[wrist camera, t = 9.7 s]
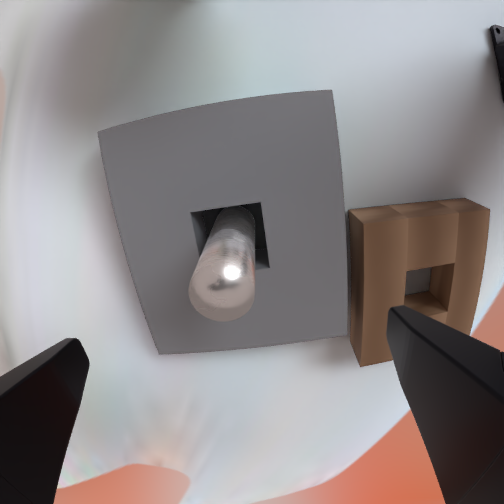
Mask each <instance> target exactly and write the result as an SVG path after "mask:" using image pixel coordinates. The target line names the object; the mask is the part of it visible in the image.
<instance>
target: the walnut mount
mask: <svg viewBox="0 0 504 504" xmlns="http://www.w3.org/2000/svg"><path fill="white" fill-rule="evenodd" d="M348 211H349V230H350V259H351V329H350V342H351V344H352V347H353V350H354V352H355V355H356V357H357V360H358V363H359V365H360V367H363V366H368V365H373V364H378V363H382V362H387V361H391V360H393V358H392V354H391V351H390V348H389V345H388V342H387V337H386V330H387V319H388V311H389V309H390V308H391V307H394V306H400V305H405V306H407V307H409V308H411V309H413V310H416V311H418V312H420V313H422V314H424V315H426V316H428V317H431V318H433V319H435V320H437V321H439V322H441V323H443V324H446V325H448V326H450V327H452V328H454V329H456V330H458V331H460V332H463V333H465V334H467V335H470V331H471V328H472V324H473V319H474V315H475V311H476V306H477V302H478V297H479V292H480V286H481V281H482V275H483V269H484V262H485V255H486V248H487V239H488V230H489V218H490V209H488V208H486V207H484V206H482V205H479V204H477V203H475V202H473V201H471V200H468V199H466V198H460V199H449V200H438V201H427V202H416V203H406V204H396V205H387V206H377V207H368V208H359V209H350V210H348ZM429 267H432V269H431V279H430V288H429V291H426V292H421V293H416V294H411V295H406V296H405V285H406V271H411V270H417V269H423V268H429Z"/></svg>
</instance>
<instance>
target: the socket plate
mask: <svg viewBox="0 0 504 504" xmlns="http://www.w3.org/2000/svg"><path fill="white" fill-rule="evenodd" d="M98 137H99V143H100V148H101V154H102V159H103V164H104V169H105V174H106V179H107V183H108V188H109V192H110V197H111V201H112V205H113V209H114V213H115V217H116V221H117V225H118V229H119V233H120V237H121V240H122V244H123V247H124V251H125V255H126V258H127V261H128V265H129V268H130V272H131V275H132V278H133V281H134V284H135V288H136V291H137V294H138V297H139V300H140V303H141V306H142V309H143V312H144V315H145V318H146V320H147V323H148V326H149V329H150V332H151V334H152V337H153V340H154V342H155V345H156V348H157V350H158V353H159V354H181V353H198V352H212V351H224V350H236V349H246V348H256V347H265V346H274V345H282V344H290V343H298V342H305V341H312V340H319V339H325V338H332V337H338V336H344V335H347V317H348V288H347V246H346V224H345V207H344V193H343V180H342V169H341V158H340V148H339V139H338V130H337V122H336V114H335V107H334V100H333V93H332V90H319V91H305V92H293V93H283V94H274V95H265V96H257V97H250V98H243V99H236V100H230V101H224V102H218V103H212V104H207V105H202V106H197V107H192V108H187V109H182V110H178V111H173V112H169V113H164V114H160V115H156V116H152V117H148V118H144V119H140V120H137V121H133V122H129V123H126V124H122V125H119V126H115V127H112V128H109V129H105V130H102V131H99V132H98ZM258 202H261V207H262V214H263V221H264V228H265V236H266V243H267V248H264V249H256V250H255V297H254V302H253V304H252V306H251V308H250V309H249V311H248V312H247V313H246V314H245V315H243V316H242V317H240V318H238V319H236V320H232V321H225V322H222V321H215V320H211V319H209V318H206V317H205V316H203V315H202V314H200V313H199V312H198V311H197V310H196V309H195V308H194V306H193V305H192V303H191V301H190V298H189V292H188V289H189V283H190V281H191V278H192V276H193V273H194V271H195V268H196V266H197V263H198V261H199V259H200V256H201V254H202V251H203V249H204V247H205V244H206V242H207V240H208V239H207V234H206V229H205V223H204V218H203V213H202V211H203V210H209V209H216V208H222V207H229V206H236V205H243V204H250V203H258Z"/></svg>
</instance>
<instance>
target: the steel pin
mask: <svg viewBox="0 0 504 504" xmlns="http://www.w3.org/2000/svg"><path fill="white" fill-rule="evenodd" d="M188 292H189V298H190V301H191V303H192V305H193V306H194V308H195V309H196V310H197V311H198V312H199V313H200V314H202V315H203V316H205V317H206V318H209V319H211V320H215V321H222V322H225V321H232V320H236V319H238V318H240V317H242V316H243V315H245V314H246V313H247V312H248V311H249V309H250V308H251V306H252V304H253V302H254V297H255V220H254V217H253V215H252V214H251V213H250V212H249V211H248V210H247V209H245V208H244V207H241V206H229V207H227V208H225V209H223V210H222V211H221V212H220V213H219V214H218V216H217V218H216V221H215V223H214V225H213V228H212V230H211V232H210V235H209V237H208V240H207V242H206V244H205V247H204V249H203V251H202V254H201V256H200V259H199V261H198V263H197V266H196V268H195V271H194V273H193V276H192V278H191V281H190V283H189V289H188Z"/></svg>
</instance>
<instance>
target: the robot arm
mask: <svg viewBox="0 0 504 504" xmlns="http://www.w3.org/2000/svg"><path fill="white" fill-rule="evenodd" d="M490 30H491V35H492V39H493V43H494V48H495V53H496V58H497V63H498V69H499V75H500V81H501V88H502V96H503V102H504V27H501V26H498V25H492V26H491V27H490ZM496 31H497V32H496ZM386 337H387V342H388V345H389V348H390V351H391V354H392V358H393V361H394V364H395V367H396V371H397V374H398V378H399V381H400V384H401V387H402V389H403V392H404V394H405V396H406V399H407V401H408V404H409V406H410V408H411V411H412V413H413V416H414V418H415V420H416V423H417V426H418V428H419V431H420V433H421V436H422V438H423V441H424V444H425V446H426V449H427V451H428V454H429V457H430V459H431V462H432V465H433V468H434V471H435V474H436V476H437V479H438V482H439V485H440V488H441V491H442V494H443V497H444V500H445V503H446V504H504V352H500V350H498V349H496V348H494V347H492V346H490V345H487V344H486V343H483V342H481V341H479V340H477V339H475V338H473V337H471V336H469V335H467V334H465V333H463V332H460V331H458V330H456V329H454V328H452V327H450V326H448V325H446V324H443V323H441V322H439V321H437V320H435V319H433V318H431V317H428V316H426V315H424V314H422V313H420V312H418V311H416V310H413V309H411V308H409V307H407V306H405V305H400V306H394V307H391V308H390V309H389V311H388V319H387V330H386ZM88 370H89V359H88V357H87V355H86V352H85V350H84V348H83V346H82V344H81V342H80V341H79V340H78V339H77V338H66V339H64V340H62V341H60V342H59V343H57V344H55V345H54V346H52V347H50V348H48V349H47V350H45V351H43V352H41V353H40V354H38V355H36V356H35V357H33V358H31V359H30V360H28V361H26V362H24V363H23V364H21V365H19V366H18V367H16V368H14V369H13V370H11V371H9V372H7V373H6V374H4V375H2V376H1V377H0V504H53V503H54V498H55V493H56V489H57V485H58V481H59V477H60V473H61V469H62V465H63V462H64V458H65V454H66V451H67V447H68V444H69V440H70V437H71V433H72V430H73V427H74V424H75V420H76V417H77V414H78V411H79V407H80V404H81V400H82V395H83V391H84V386H85V382H86V378H87V374H88Z"/></svg>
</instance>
